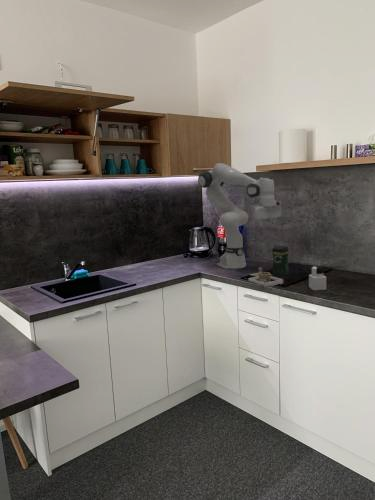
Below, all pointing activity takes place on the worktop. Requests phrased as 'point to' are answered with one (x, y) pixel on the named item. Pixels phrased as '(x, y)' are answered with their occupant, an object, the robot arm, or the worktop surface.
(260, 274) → the collar
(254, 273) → the stake
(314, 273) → the medicine bottle
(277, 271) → the coffee jar
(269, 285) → the tray
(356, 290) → the worktop surface
